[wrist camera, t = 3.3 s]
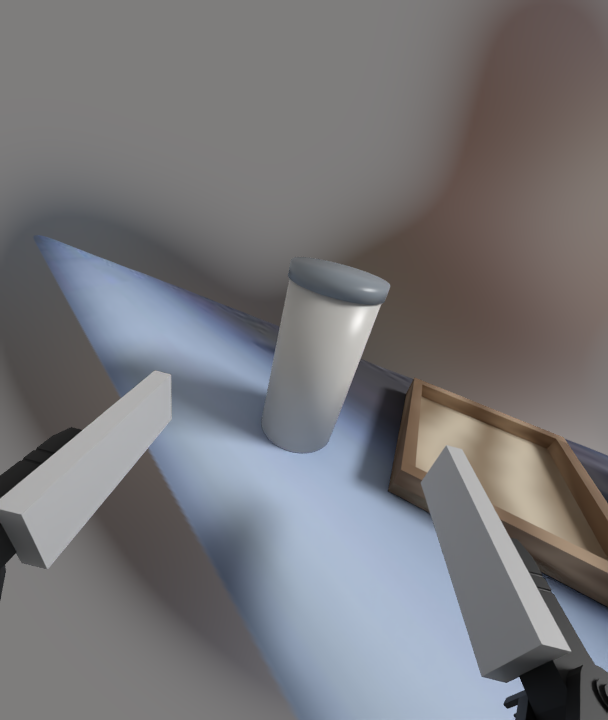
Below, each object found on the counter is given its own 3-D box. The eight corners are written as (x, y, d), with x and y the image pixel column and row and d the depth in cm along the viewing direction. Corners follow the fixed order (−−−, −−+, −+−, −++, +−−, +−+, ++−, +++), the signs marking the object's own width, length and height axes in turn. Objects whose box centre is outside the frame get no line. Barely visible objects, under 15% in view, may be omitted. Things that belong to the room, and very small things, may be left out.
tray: (548, 453, 30) (563, 437, 29) (641, 624, 16) (677, 607, 15) (406, 393, 34) (414, 377, 33) (388, 490, 21) (400, 469, 19)
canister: (333, 410, 28) (382, 275, 21) (331, 463, 22) (399, 297, 15) (269, 394, 28) (298, 253, 21) (250, 442, 22) (282, 266, 15)
